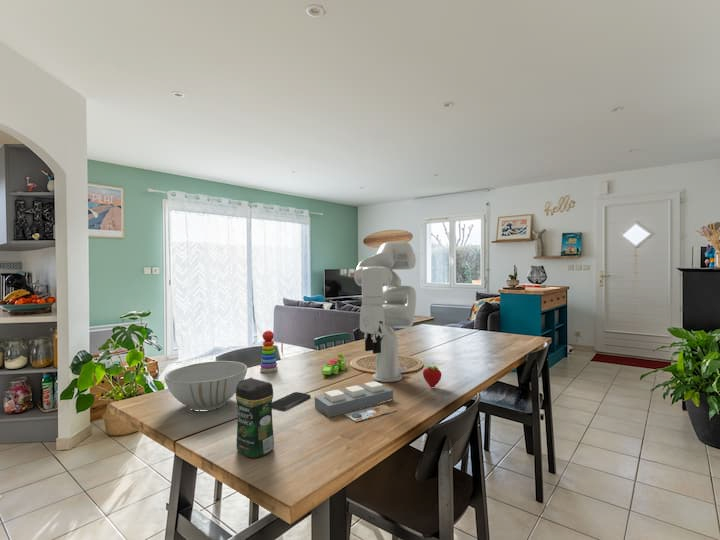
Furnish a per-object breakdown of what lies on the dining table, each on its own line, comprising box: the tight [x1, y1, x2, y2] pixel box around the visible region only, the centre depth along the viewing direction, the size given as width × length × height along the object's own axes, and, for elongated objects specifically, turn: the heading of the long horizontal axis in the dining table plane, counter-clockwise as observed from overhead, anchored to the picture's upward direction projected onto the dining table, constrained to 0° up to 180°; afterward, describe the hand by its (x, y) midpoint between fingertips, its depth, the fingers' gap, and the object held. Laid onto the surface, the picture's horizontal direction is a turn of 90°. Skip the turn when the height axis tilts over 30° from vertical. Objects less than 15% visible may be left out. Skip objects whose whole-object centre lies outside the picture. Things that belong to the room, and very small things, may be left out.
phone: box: [272, 391, 311, 411], centre depth 132 cm, size 8×1×15 cm
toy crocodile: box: [321, 354, 347, 376], centre depth 169 cm, size 20×7×6 cm, turn 158°
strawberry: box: [422, 362, 443, 388], centre depth 145 cm, size 6×8×10 cm
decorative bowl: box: [164, 360, 248, 412], centre depth 130 cm, size 27×27×12 cm
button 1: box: [324, 388, 345, 402], centre depth 124 cm, size 5×5×4 cm
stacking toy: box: [259, 330, 279, 374], centre depth 172 cm, size 8×8×19 cm
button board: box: [314, 385, 394, 418], centre depth 129 cm, size 26×10×4 cm, turn 123°
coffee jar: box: [235, 377, 275, 459], centre depth 97 cm, size 10×8×19 cm
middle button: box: [344, 385, 365, 397], centre depth 129 cm, size 5×5×4 cm
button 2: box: [363, 380, 384, 393], centre depth 133 cm, size 5×5×4 cm
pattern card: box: [344, 406, 376, 421], centre depth 120 cm, size 16×7×1 cm, turn 123°
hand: (373, 351), depth 133 cm, fingers open, 4 cm apart
